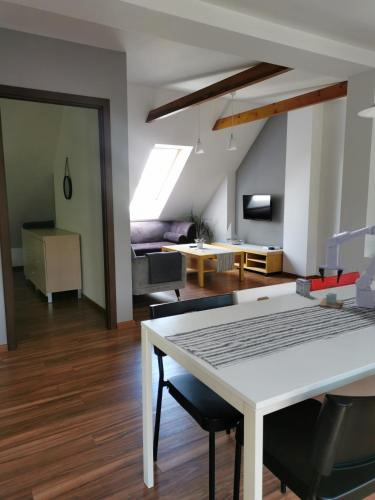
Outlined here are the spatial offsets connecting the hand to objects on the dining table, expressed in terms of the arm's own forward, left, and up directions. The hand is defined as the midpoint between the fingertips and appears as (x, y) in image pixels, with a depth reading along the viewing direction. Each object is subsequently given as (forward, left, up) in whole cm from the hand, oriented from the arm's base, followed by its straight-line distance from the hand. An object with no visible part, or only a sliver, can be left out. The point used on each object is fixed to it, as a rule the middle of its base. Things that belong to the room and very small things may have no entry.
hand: (330, 282), depth 208 cm
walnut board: (-2, +8, -10) cm, 13 cm away
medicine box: (+16, -7, -10) cm, 20 cm away
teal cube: (-2, +8, -9) cm, 12 cm away
